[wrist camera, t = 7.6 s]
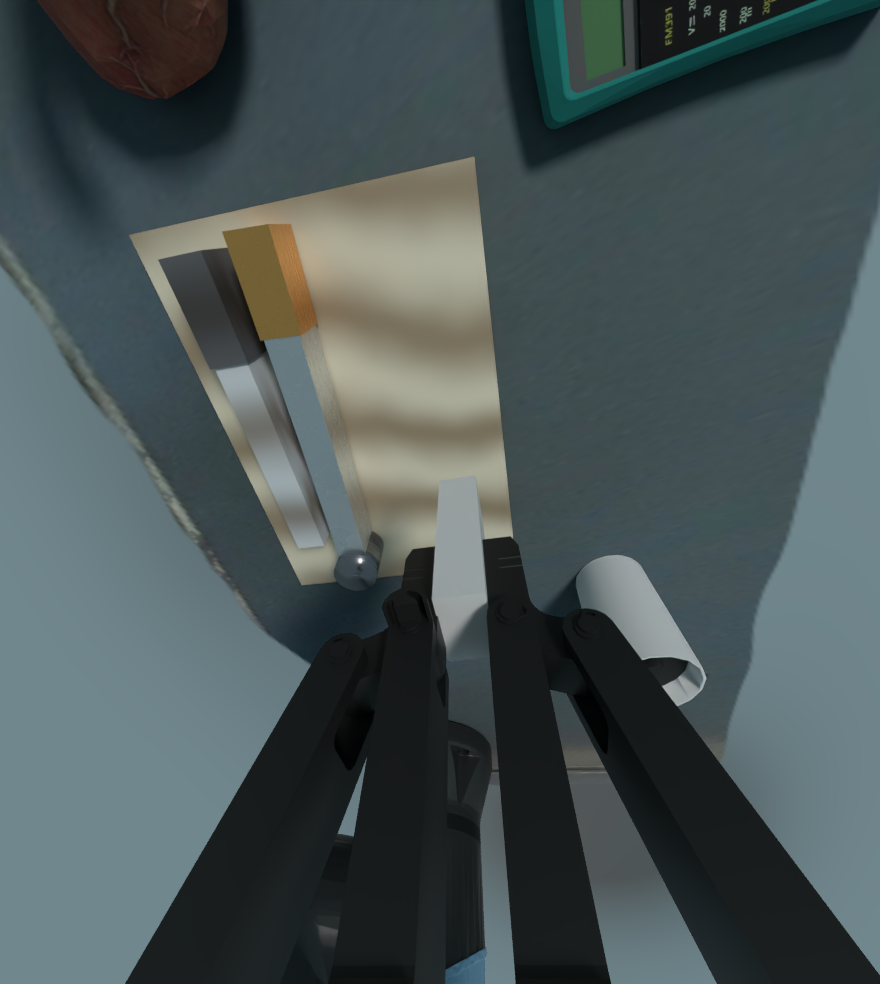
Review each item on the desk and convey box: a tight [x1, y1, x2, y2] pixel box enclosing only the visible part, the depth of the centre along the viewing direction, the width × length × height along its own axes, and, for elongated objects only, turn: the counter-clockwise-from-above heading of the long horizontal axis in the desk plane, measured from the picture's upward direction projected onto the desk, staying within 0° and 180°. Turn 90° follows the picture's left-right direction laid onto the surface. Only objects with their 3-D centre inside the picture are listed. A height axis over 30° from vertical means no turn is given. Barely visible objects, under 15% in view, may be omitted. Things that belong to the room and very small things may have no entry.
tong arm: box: [222, 224, 384, 591], centre depth 27 cm, size 24×3×4 cm, turn 7°
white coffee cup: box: [576, 555, 706, 706], centre depth 32 cm, size 7×7×10 cm
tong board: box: [129, 157, 513, 585], centre depth 28 cm, size 27×19×4 cm
